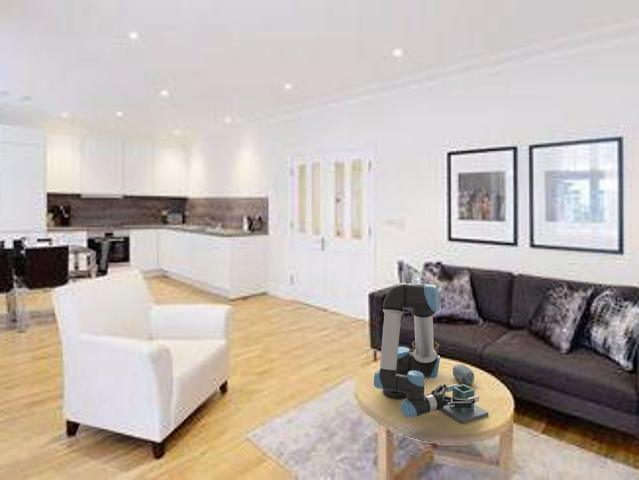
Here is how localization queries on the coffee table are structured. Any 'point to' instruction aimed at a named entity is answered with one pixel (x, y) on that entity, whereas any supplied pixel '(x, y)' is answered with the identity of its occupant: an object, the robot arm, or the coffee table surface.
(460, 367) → the grey rounded piece
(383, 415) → the coffee table surface
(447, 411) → the hub plate
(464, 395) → the sleeve
